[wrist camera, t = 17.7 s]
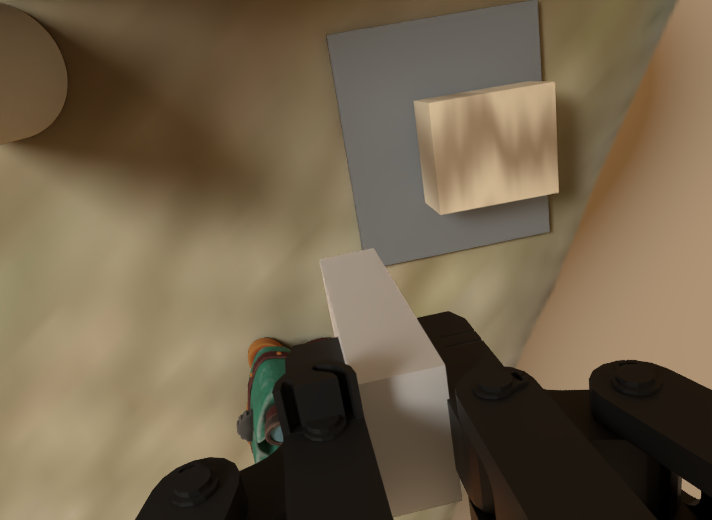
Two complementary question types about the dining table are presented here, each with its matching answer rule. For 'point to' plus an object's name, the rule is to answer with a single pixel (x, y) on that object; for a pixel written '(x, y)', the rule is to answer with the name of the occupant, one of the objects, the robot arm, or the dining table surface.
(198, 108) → the dining table surface
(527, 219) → the mat
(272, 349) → the binoculars
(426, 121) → the wooden block
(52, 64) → the travel mug
